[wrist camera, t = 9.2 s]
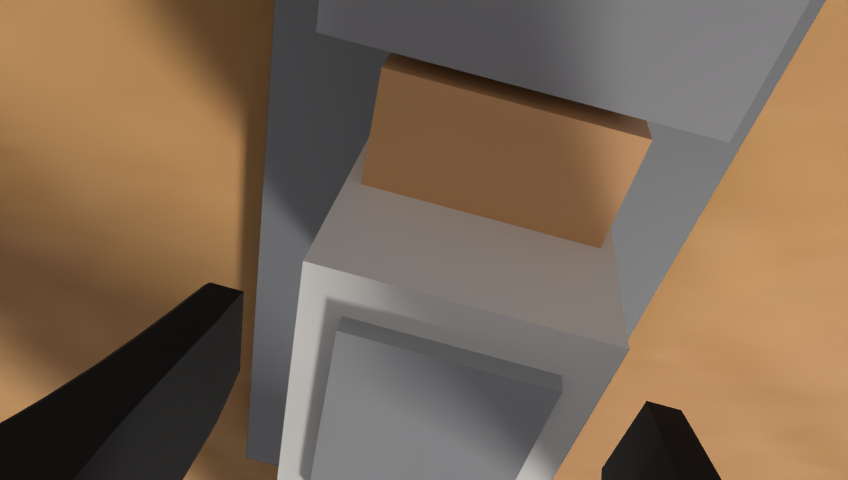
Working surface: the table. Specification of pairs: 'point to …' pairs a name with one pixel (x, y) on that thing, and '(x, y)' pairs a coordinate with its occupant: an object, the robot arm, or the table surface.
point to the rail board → (335, 142)
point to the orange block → (501, 150)
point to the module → (444, 344)
